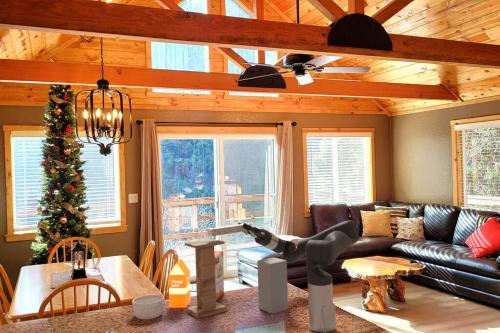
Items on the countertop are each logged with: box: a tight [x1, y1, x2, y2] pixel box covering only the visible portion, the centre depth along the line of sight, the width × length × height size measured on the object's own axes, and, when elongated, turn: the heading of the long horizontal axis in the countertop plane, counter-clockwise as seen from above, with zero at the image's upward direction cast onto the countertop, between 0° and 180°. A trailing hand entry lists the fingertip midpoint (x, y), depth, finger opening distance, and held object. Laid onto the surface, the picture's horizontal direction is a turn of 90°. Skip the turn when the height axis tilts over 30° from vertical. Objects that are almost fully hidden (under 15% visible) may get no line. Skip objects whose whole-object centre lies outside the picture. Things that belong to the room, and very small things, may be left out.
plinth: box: [256, 257, 289, 314], centre depth 189 cm, size 9×9×21 cm
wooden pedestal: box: [184, 238, 228, 320], centre depth 187 cm, size 10×14×30 cm
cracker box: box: [214, 250, 225, 302], centre depth 209 cm, size 14×6×21 cm, turn 168°
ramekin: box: [131, 294, 165, 320], centre depth 186 cm, size 13×13×7 cm
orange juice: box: [168, 258, 192, 308], centre depth 199 cm, size 8×9×20 cm
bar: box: [206, 223, 253, 237], centre depth 195 cm, size 4×22×3 cm, turn 128°
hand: (240, 224), depth 199 cm, fingers closed on bar, 3 cm apart
